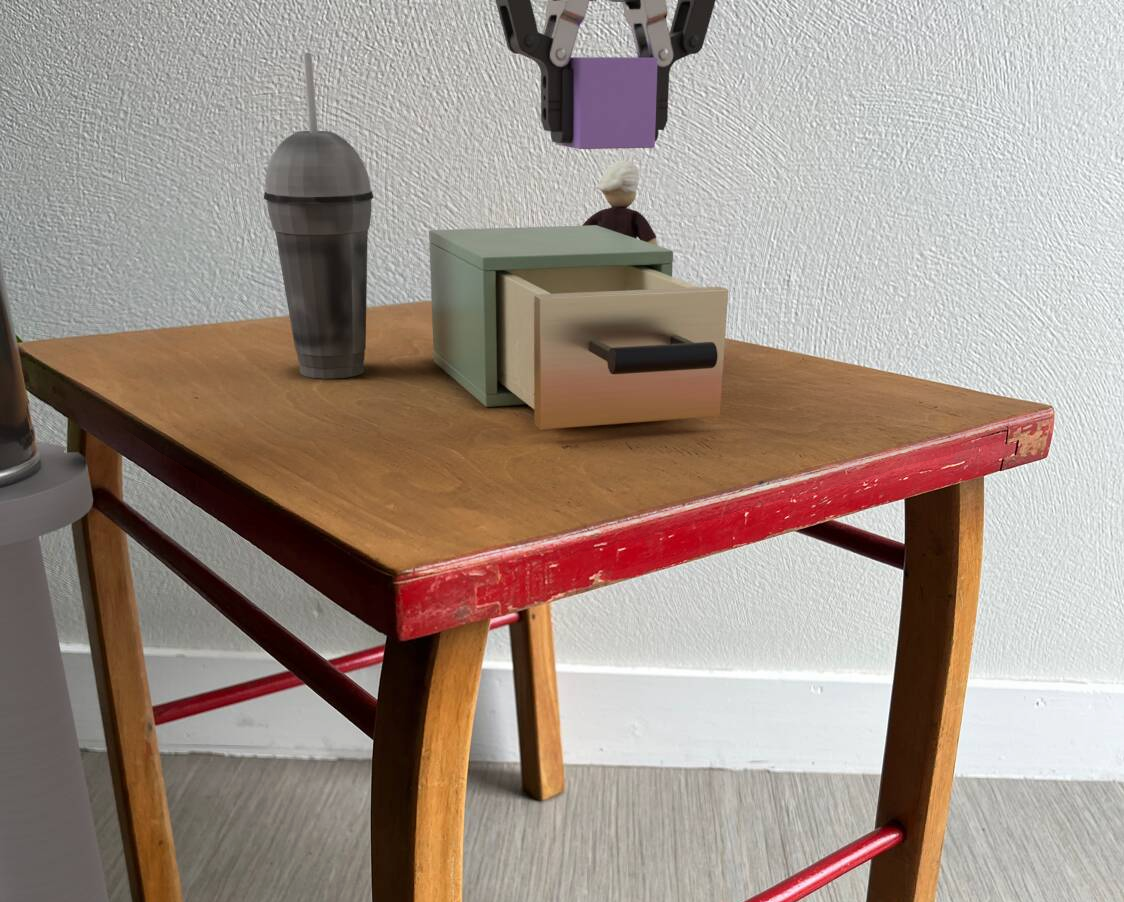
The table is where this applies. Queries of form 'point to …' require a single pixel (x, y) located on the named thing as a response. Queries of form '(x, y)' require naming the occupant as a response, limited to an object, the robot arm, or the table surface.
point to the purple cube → (613, 102)
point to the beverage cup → (322, 243)
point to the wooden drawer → (609, 344)
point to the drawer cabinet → (471, 288)
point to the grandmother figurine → (622, 203)
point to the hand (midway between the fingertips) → (603, 139)
